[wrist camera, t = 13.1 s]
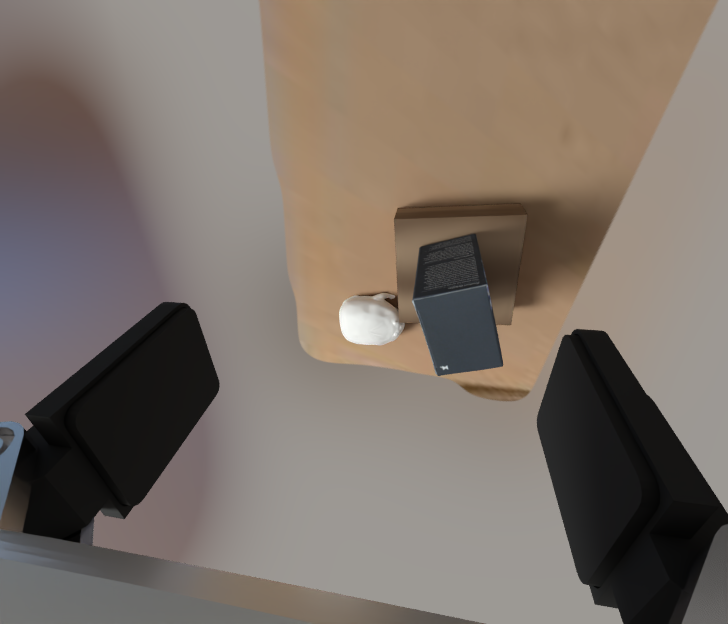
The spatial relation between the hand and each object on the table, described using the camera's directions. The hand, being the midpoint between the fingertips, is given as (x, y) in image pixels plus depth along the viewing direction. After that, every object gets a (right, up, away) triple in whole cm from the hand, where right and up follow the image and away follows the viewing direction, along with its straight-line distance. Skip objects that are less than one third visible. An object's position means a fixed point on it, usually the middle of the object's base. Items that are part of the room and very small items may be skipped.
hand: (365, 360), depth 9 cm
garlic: (+1, +1, +36) cm, 36 cm away
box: (+9, +5, +27) cm, 29 cm away
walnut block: (+10, +7, +31) cm, 33 cm away
